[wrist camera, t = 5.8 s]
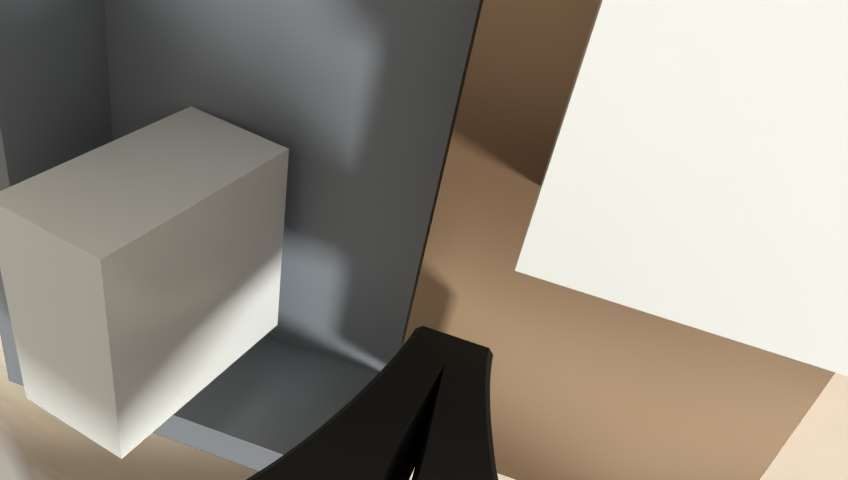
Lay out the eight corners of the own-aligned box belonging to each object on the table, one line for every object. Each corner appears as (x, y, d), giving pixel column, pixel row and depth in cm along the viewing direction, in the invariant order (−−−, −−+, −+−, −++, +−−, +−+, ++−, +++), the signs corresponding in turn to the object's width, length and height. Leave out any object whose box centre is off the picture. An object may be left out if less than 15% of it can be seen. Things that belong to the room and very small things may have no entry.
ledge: (706, 457, 17) (711, 547, 15) (413, 358, 18) (382, 432, 16) (1058, -104, 10) (1147, -70, 8) (558, -224, 11) (533, -218, 9)
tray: (395, 383, 19) (343, 502, 16) (107, 286, 20) (9, 380, 17) (558, -312, 11) (513, -334, 8) (56, -424, 11) (-153, -482, 9)
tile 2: (121, 459, 14) (26, 398, 14) (277, 325, 17) (194, 281, 18) (100, 259, 11) (-15, 198, 12) (288, 148, 14) (190, 106, 15)
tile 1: (827, 273, 11) (859, 379, 10) (540, 186, 12) (514, 270, 10) (1015, -24, 9) (1111, 38, 7) (638, -119, 9) (629, -85, 7)
